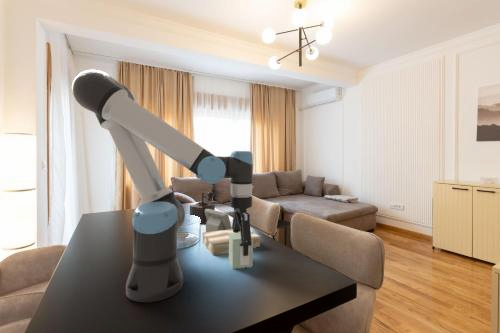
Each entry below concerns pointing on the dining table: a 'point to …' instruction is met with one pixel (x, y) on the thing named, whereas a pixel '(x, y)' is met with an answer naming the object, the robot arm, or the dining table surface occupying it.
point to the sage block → (238, 251)
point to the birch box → (223, 241)
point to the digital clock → (217, 220)
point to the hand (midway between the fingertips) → (240, 256)
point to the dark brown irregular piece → (202, 207)
